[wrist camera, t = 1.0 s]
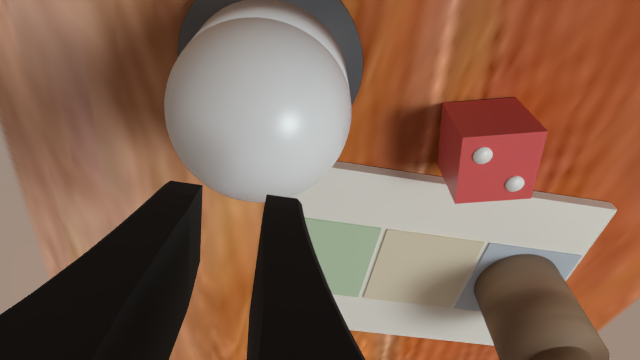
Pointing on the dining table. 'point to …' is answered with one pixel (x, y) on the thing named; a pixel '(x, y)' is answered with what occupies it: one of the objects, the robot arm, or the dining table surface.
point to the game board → (431, 247)
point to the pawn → (535, 312)
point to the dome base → (320, 3)
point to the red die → (489, 150)
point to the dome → (259, 101)
